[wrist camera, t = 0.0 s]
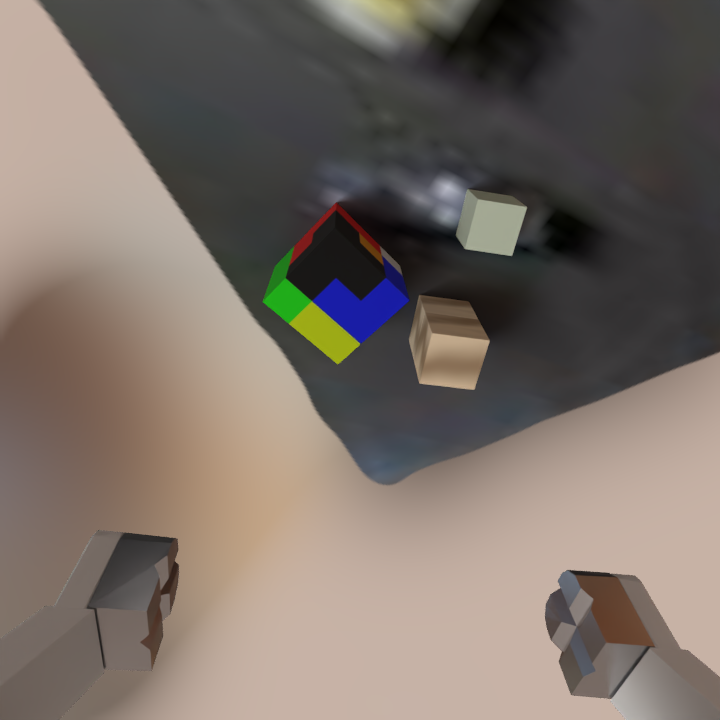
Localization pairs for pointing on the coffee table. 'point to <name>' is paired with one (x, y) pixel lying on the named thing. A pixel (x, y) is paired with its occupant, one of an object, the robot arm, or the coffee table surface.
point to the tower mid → (450, 351)
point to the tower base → (437, 307)
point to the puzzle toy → (336, 285)
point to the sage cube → (490, 222)
